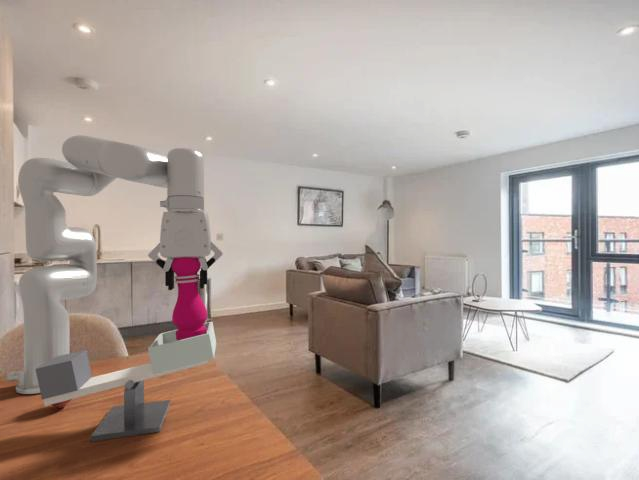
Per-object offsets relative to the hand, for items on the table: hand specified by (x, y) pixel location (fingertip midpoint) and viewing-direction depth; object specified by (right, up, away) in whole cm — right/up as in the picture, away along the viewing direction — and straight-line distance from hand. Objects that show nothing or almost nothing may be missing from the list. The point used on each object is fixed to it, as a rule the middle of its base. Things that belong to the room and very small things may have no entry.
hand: (186, 287), depth 74 cm
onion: (-30, -28, +3) cm, 41 cm away
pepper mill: (+1, -11, 0) cm, 11 cm away
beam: (-9, -19, -3) cm, 21 cm away
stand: (-10, -28, -3) cm, 29 cm away
